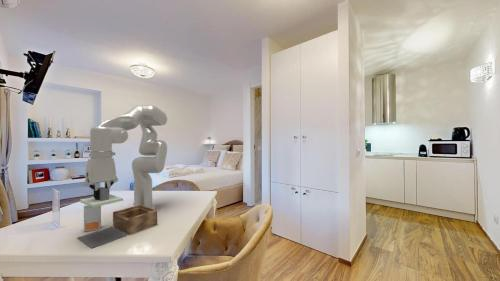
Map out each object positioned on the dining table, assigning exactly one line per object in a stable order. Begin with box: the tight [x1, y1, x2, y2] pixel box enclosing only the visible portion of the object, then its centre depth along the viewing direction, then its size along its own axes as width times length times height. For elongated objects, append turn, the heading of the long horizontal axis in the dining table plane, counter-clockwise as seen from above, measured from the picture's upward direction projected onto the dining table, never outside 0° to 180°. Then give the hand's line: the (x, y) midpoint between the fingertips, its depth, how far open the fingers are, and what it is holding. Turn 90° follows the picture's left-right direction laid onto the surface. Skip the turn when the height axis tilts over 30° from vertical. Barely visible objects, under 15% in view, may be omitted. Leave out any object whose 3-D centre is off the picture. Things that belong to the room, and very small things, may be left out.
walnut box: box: [112, 205, 158, 236], centre depth 101 cm, size 13×16×7 cm
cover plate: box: [79, 186, 124, 207], centre depth 89 cm, size 11×13×6 cm
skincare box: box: [83, 204, 102, 233], centre depth 97 cm, size 6×4×12 cm
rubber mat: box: [76, 226, 128, 249], centre depth 89 cm, size 15×13×1 cm
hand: (101, 198), depth 89 cm, fingers closed on cover plate, 2 cm apart
